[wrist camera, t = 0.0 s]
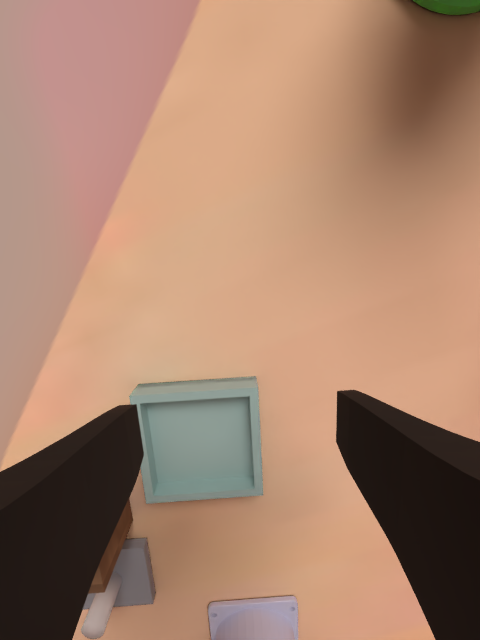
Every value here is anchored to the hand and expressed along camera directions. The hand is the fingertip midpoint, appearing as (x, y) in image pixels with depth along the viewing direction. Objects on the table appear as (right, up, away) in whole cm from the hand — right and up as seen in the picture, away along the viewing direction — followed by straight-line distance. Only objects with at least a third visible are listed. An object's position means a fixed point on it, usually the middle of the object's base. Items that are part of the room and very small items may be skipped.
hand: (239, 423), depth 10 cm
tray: (-3, -5, +11) cm, 12 cm away
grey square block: (-11, -18, +14) cm, 25 cm away
